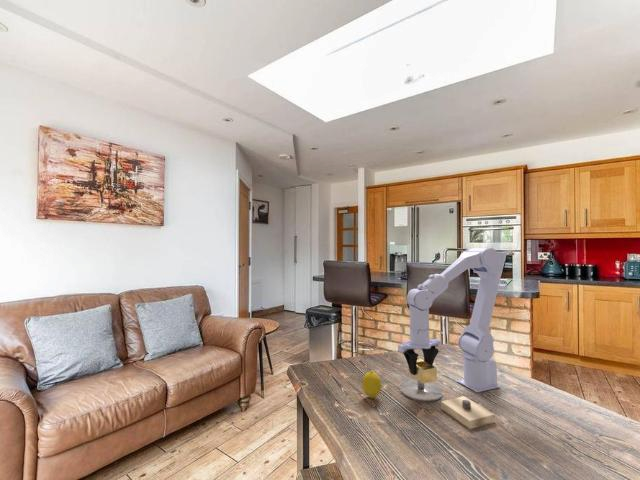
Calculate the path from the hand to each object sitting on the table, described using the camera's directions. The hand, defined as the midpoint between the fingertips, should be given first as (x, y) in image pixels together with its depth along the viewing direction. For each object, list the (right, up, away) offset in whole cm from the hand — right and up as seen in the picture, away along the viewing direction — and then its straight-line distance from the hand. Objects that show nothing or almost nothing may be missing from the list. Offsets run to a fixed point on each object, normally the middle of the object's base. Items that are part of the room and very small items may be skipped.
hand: (420, 372), depth 94 cm
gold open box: (0, -1, -1) cm, 1 cm away
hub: (0, -6, 0) cm, 6 cm away
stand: (+8, -6, -13) cm, 16 cm away
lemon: (-16, -6, -3) cm, 17 cm away
